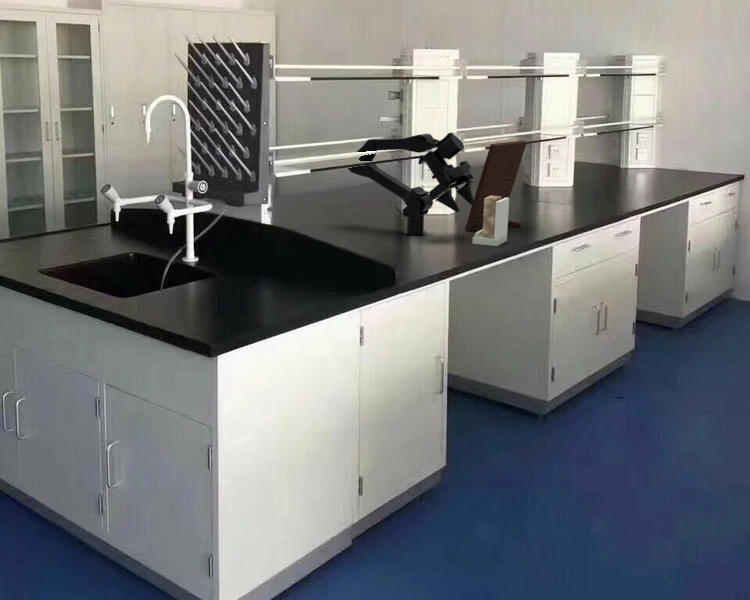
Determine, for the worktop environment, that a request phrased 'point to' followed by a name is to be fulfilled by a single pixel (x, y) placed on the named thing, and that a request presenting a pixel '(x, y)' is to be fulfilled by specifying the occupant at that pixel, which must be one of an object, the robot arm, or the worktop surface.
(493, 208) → the oak photo frame
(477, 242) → the picture ledge
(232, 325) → the worktop surface
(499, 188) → the picture frame
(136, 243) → the worktop surface
